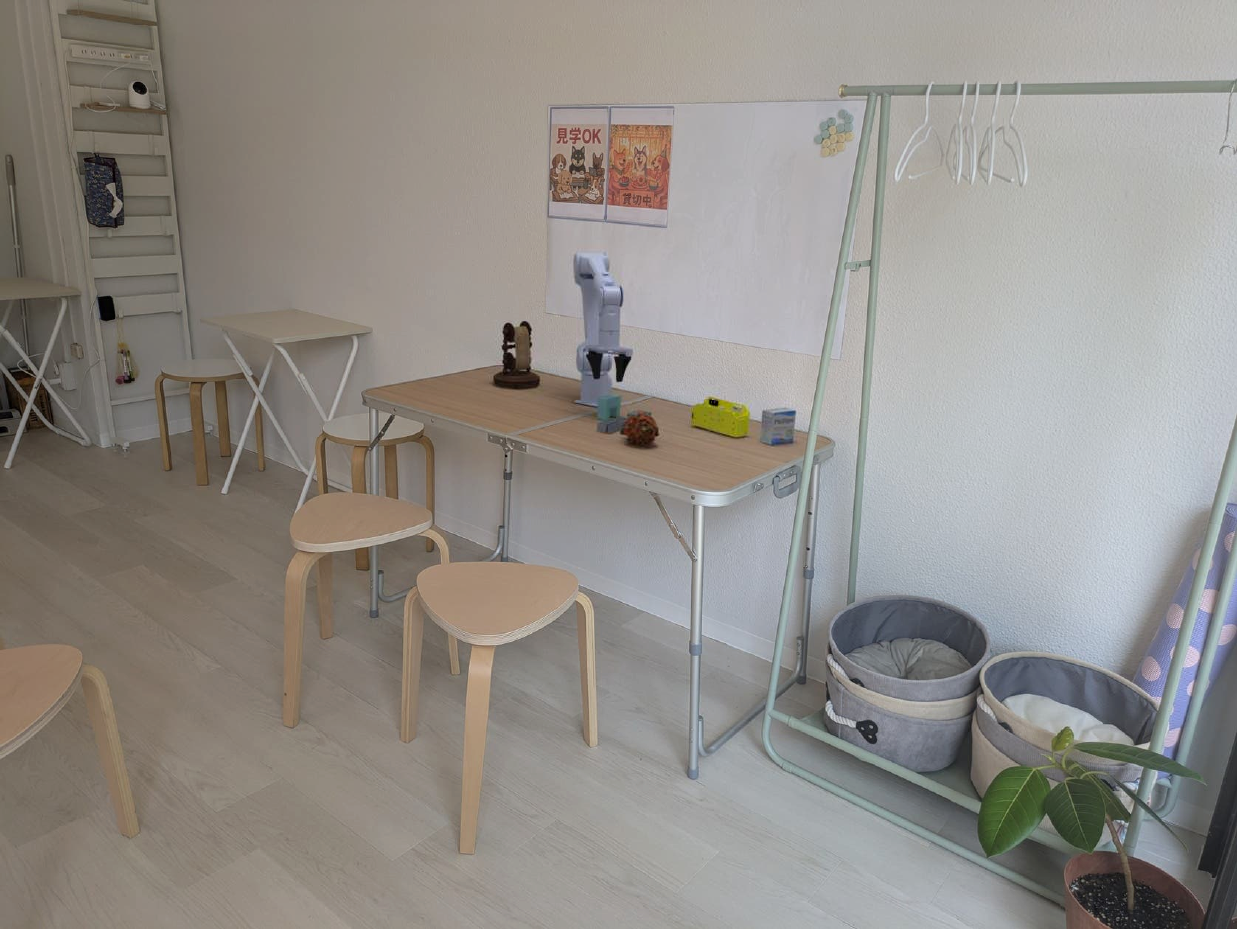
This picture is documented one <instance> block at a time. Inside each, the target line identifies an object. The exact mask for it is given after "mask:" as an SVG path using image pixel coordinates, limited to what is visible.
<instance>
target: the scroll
mask: <svg viewBox="0 0 1237 929" xmlns="http://www.w3.org/2000/svg"><path fill="white" fill-rule="evenodd" d="M532 331H533V329H532V327H531V324H530V323H529V322H528V321H526V320H523V321H521V322H520V324H519V326H514V325H513V323H511V322H506V323H505V324H504V325H503V327H502V335H503V336H502V337H503V340H502V343H503V344H502V345H501V350H502V352H503V355H502V360H501V363H502V367H503V369H502V371H499V372H497V373H495V374H493V378H492V380H493V383H494V384H495V385H497V383H498V384H502V385H508V386H512V387H513V389H514V390H516V389H517V386H528V385H530V386H531V385H536V386H539V385H540V382H541V377H540V375H538V374H537V373H535V372H533V371H531V370H532V368H531V364H532V357H531V354H532V352H531V349H532V347H533V342H532V337H531V335H532ZM508 343H510V344H508ZM512 343H513V344H512ZM512 349H515V356H514V355H513V353H512V352H510V351H508V350H512Z"/></svg>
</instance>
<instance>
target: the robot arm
mask: <svg viewBox="0 0 1237 929" xmlns="http://www.w3.org/2000/svg"><path fill="white" fill-rule="evenodd" d="M572 261H573V262H572V263H573V266H572V267H573V278H574V283H575V284H576V285H578V286H579V288H580V291H581V292H580V293H581V297H582V299H581V301H582V311H583V312H582V313H583V314H582V315H583V328H584V341H582V342H581V343H579V345H578V346H577V348H576V356H575V358H576V359H575V360H576V361H575V363H576V364H575V365H576V366H575V367H576V370H577V371H578V372H579V373H580V374H581V381H580V398H579V399H576V400H574V403H576V404H580V405H586V406H590V407H596V408H597V406H598V398H599V397H602V396H606V395H610V394H613V393H612V392H613V380H612V376H611V375H610V373H609V372H611V370H612V367H613V360H614V365H615V381H616V382H615V383H622V382H623V381H624V376H625V373H626V371H627V368H628V365H629V363H630V362H631V360H632V357H633V354H634V352H633V351H634V348H628V347H622V346H620V339H621V338H620V337H621V336H620V335H621V334H620V333H621V332H620V330H621V329H620V328H621V308H622V307H623V304H624V290H623V286H622V285H619V284H618V285H617V283H616V282H615V279H614V277H613V276H612V274H611V273H610V262H611V261H610V256H609V254H608V252H607V253H606V252H604V253H601V252H599V253H598V252H597V253H595V252H578V251H577V252H576V253H575V254H574V255H573V260H572ZM613 355H614V356H613Z"/></svg>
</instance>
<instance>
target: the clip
mask: <svg viewBox="0 0 1237 929" xmlns="http://www.w3.org/2000/svg"><path fill="white" fill-rule="evenodd" d="M621 405H622V395H621V394H615V393H612V394H610V395H606V396H602V397H599V398H598V406H597V407H596V408H597V420H601V421H605V420H608V419H611V418H610V417H613V418H617V417H618V416H621Z"/></svg>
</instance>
